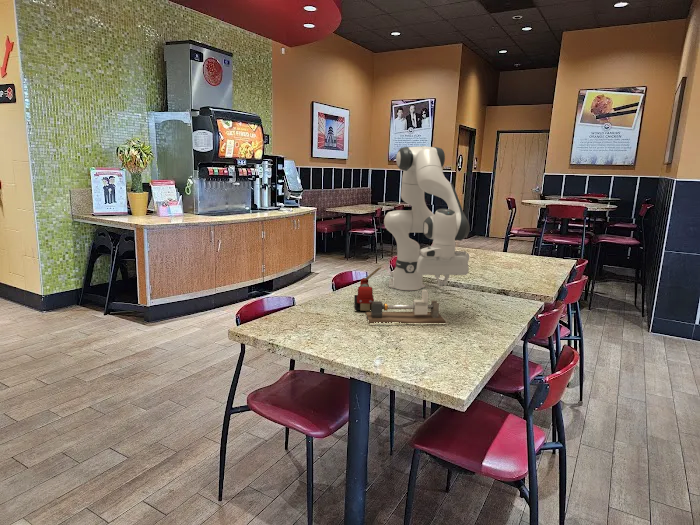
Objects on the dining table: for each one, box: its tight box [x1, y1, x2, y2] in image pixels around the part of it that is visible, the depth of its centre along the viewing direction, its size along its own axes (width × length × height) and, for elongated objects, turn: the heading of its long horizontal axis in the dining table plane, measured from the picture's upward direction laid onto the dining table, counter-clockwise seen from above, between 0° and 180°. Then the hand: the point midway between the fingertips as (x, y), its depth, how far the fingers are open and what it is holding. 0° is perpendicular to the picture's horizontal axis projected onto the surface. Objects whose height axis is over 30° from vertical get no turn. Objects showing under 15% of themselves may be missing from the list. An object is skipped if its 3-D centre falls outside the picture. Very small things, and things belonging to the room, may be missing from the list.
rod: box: [370, 300, 433, 318], centre depth 184 cm, size 4×26×6 cm, turn 95°
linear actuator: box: [365, 300, 447, 324], centre depth 184 cm, size 12×30×8 cm, turn 95°
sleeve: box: [412, 289, 429, 315], centre depth 183 cm, size 4×5×9 cm
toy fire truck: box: [353, 266, 382, 312], centre depth 198 cm, size 11×16×18 cm
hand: (441, 285), depth 182 cm, fingers closed
